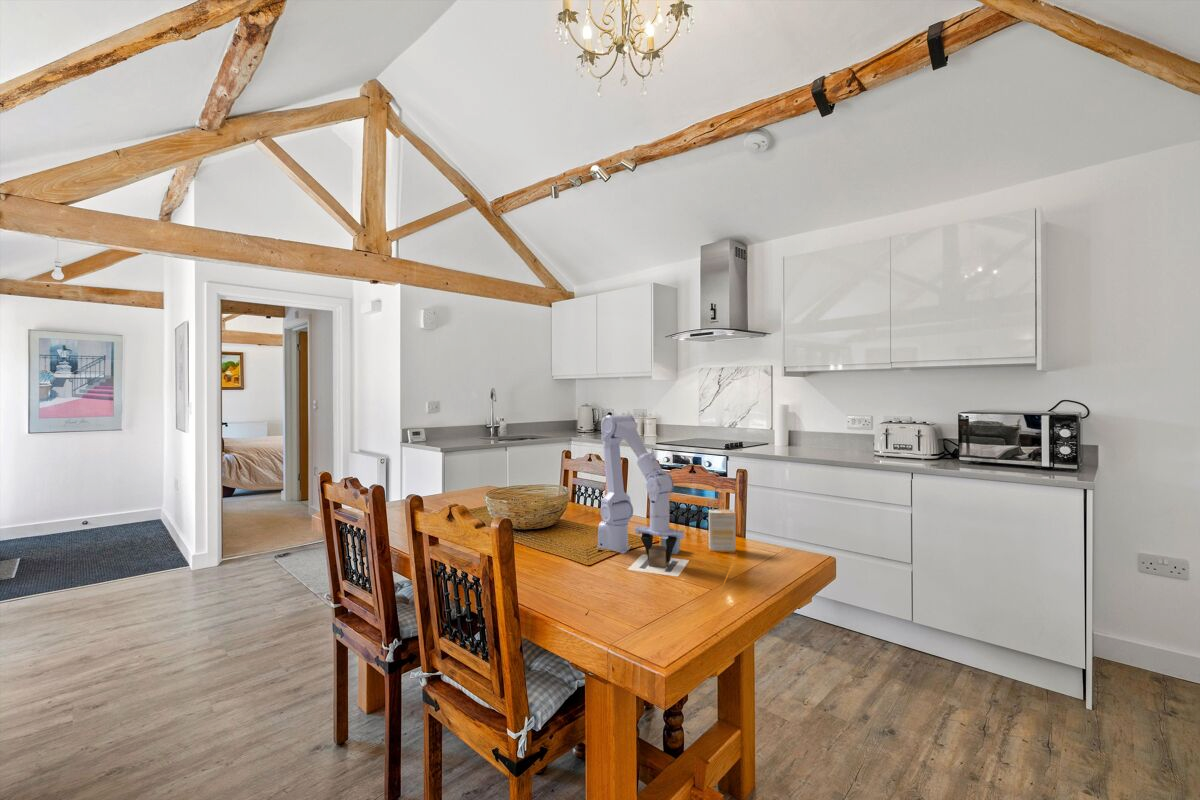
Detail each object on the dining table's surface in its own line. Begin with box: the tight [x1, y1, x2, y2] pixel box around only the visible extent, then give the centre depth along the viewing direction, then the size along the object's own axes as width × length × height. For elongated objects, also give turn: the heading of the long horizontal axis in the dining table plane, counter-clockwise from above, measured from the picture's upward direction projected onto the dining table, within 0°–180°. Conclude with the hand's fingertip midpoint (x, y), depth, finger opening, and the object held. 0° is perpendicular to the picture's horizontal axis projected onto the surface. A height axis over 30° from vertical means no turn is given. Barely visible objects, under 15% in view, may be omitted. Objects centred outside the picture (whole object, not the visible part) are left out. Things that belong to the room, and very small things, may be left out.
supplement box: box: [708, 509, 737, 554], centre depth 177 cm, size 8×5×13 cm, turn 84°
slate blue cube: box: [660, 536, 681, 555], centre depth 176 cm, size 5×5×5 cm
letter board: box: [627, 553, 690, 577], centre depth 163 cm, size 15×15×1 cm
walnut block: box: [649, 544, 669, 568], centre depth 162 cm, size 5×5×5 cm
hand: (659, 560), depth 163 cm, fingers closed on walnut block, 5 cm apart
